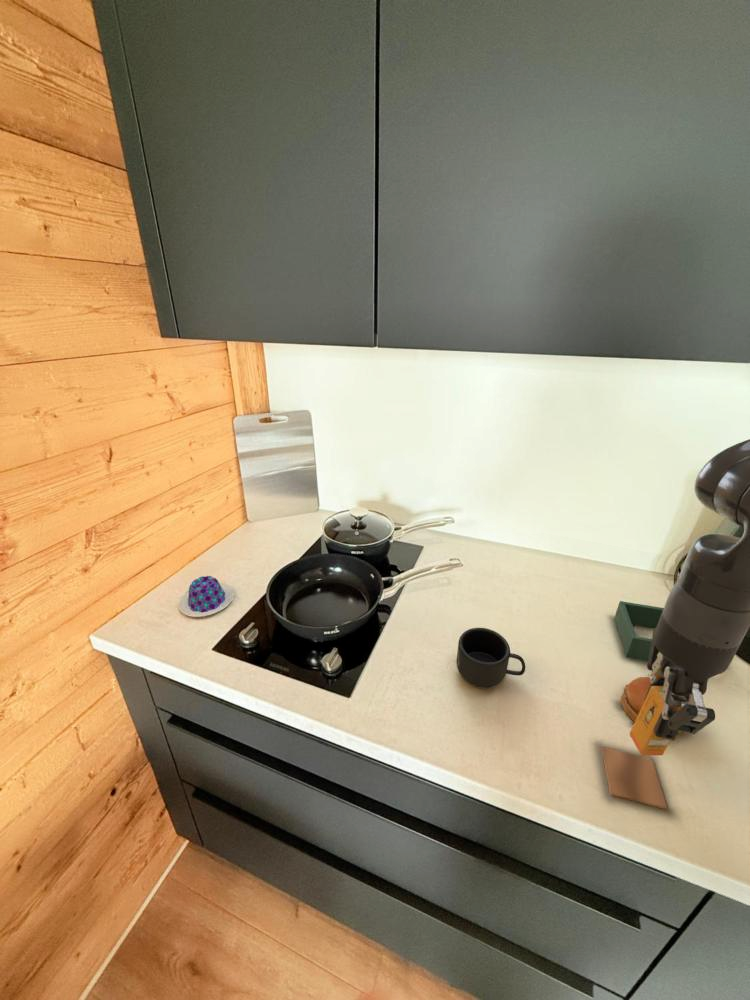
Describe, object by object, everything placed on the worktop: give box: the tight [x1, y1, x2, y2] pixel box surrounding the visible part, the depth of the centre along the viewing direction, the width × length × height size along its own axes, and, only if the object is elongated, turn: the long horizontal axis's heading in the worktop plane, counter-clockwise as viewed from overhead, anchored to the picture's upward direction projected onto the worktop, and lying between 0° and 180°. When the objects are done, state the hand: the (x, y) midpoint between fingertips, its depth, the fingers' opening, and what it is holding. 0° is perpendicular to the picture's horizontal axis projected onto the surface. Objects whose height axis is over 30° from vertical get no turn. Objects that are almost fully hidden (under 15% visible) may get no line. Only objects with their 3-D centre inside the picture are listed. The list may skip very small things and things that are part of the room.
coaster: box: [600, 746, 668, 810], centre depth 62 cm, size 7×7×1 cm
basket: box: [613, 600, 664, 662], centre depth 84 cm, size 13×11×5 cm
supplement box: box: [629, 686, 682, 757], centre depth 56 cm, size 3×4×10 cm
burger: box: [620, 676, 684, 734], centre depth 70 cm, size 10×9×5 cm
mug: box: [455, 627, 526, 689], centre depth 77 cm, size 12×9×7 cm
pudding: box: [178, 575, 235, 618], centre depth 96 cm, size 12×12×5 cm
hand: (657, 719), depth 56 cm, fingers closed on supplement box, 4 cm apart
